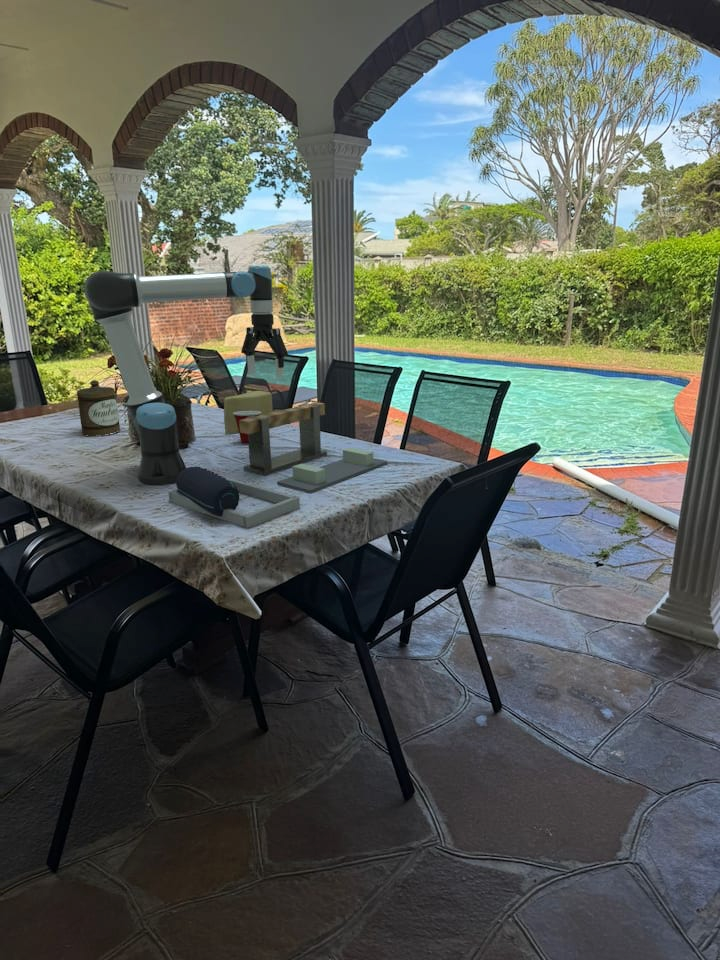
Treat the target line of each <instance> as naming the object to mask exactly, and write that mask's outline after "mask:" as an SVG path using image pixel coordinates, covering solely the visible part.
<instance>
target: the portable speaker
mask: <svg viewBox="0 0 720 960" xmlns="http://www.w3.org/2000/svg"><path fill="white" fill-rule="evenodd" d="M222 476H223V475H219V474H217V473H215V472H214V471H211V470H210V469H207V468H205V467H201V466H195V465H194V466H188V467H186V469H184V470H182V471H181V472H180V473H179V475H178V477H177V480H176V482H175V485H176V489H178V491H179V493H181V494H182V495H184V496H186V497H187V498H189V499H190V500H191V501H192V502H194V503H195V504H197V505H198V506H200V507H201V508H203V509H204V510H206V511H208V512H210V513H211V514H213V515H216V516H223V512H224V510H225V509H232V510H236V509H237V508H238V506H239V502H240V493H239V490H238V489H237V487H236V486H235V485H234V483H232V482H230V481H229V480H226V478H224V477H225V476H224V477H223V478H222Z"/></svg>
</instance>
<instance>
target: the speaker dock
mask: <svg viewBox="0 0 720 960" xmlns="http://www.w3.org/2000/svg"><path fill="white" fill-rule="evenodd" d="M221 476H222V478H223V477H224V478H226V480H229V481H230V482H232V483H234V485H235V486H236V487H237V489H238V490H239V494H243V495H247V496H250V497H253V498H257V499H260V500H264V501H268V502H270V503H274V504H271V505H269V506H266V507H264V508H261V509H259V510H258V509H257V510H255V511H253V512H249V513H245V512H241V511H238V510H236V509H235V510H232V509H225V510H224V512H223V516H216V515H213V514H211V513H210V512H208V511H206V510H204V509H203V508H201V507H200V506H198V505H197V504H195V503H194V502H192V501H191V500H190V499H189V498H187V497H186V496H184V495H182V494H181V493H179V491H178V489H177V488H176V489H171V490H169V491H167V496H168V502H169V503H172V504H175V505H179V506H182V507H184V508H187V509H190V510H193V511H196V512H199V513H202V514H204V515H208V516H211V517H213V518H217V519H219V520H223V521H226V522H228V523H232V524H235V525H237V526H241V527H243V528H246V529H250V528H252V527H254V526H257V525H260V524H262V523H265V522H267V521H270V520H272V519H275V518H277V517H280V516H282V515H284V514H287V513H289V512H292V511H295V510H297V509H299V508H301V505H300V504H301V503H300V497H299V496H295V495H292V494H289V493H285V492H282V491H281V492H280V491H277V490H274V489H270V488H266V487H263V486H260V485H257V484H256V485H255V484H252V483H248V482H245V481H242V480H241V481H240V480H237V479H234V478H231V477H226V476H224V475H221Z"/></svg>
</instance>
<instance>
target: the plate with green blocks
mask: <svg viewBox="0 0 720 960" xmlns="http://www.w3.org/2000/svg"><path fill="white" fill-rule="evenodd" d="M386 465H388V461H387V460H383V459H378V458H374V451H370V450H366V449H359V448H354V447H348V448H345V449H342V459H339V460H335V461H334V462H330V463H327V464H323V465H322V466H314V465H309V464H305V463H302V464H299V465H296V466H293V467H292V475H291V476H289V477H287V478H283V479H280V480H278V481H277V482H276V485H278V486H281V487H285V488H289V489H292V490H295V491H300V492H303V493H307V494H312V493H315V492H318V491H320V490H323V489H326V488H328V487H331V486H333V485H336V484H338V483H341V482H344V481H346V480H349V479H352V478H355V477H357V476H359V475H362V474H364V473H368V472H370V471H372V470H375V469H378V468H380V467H381V468H382V466H386Z"/></svg>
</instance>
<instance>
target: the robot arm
mask: <svg viewBox="0 0 720 960" xmlns="http://www.w3.org/2000/svg"><path fill="white" fill-rule="evenodd" d="M272 284H273V279H272V271H271V267H270V266H269V265H249V266H248V269H247V271H244V270H239V271H220V272H219V271H218V272H217V271H216V272H209V273H208V272H207V273H206V272H205V273H202V272H201V273H186V274H163V275H159V274H158V275H144V276H143V275H142V276H141V275H137V274H136V273H135V272H131V273H130V272H129V273H126V272H125V273H123V272H116V271H115V272H114V271H109V270H108V271H107V270H100V271H99V270H97V271H95V272H93V273H91V274H89V276H88V277H87V278H86V280H85V282H84V284H83V285H84V286H83V293H84V295H85V299H86V300H87V303H88V305H89V307H90V309H91V312H92V315H93V318H94V320H95V322H97V323H99V324H100V325H102V327H103V330H104V333H105V335H106V338H107V340H108V343H109V346H110V348H111V352H112V354H113V356H114V359H115V362H116V365H117V368H118V370H119V373H120V375H121V378H122V381H123V383H124V387H125V389H126V391H127V394H128V400H127V402H126V405H127V408H128V410H129V413H130V416H131V421H132V424H133V426H134V428H135V429H136V431H137V432H138V440H139V444H140V445H139V447H140V453H141V458H140V461H139V468H138V472H137V475H138V481H139V482H140V483H141V484H145V485H168V484H172V483H173V484H174V483H176V480H177V477H178V475H179V473H180V472H181V471H182V470H184V469H186V468H187V466H186V465H185V462H184V460H183V458H182V455H181V453H180V445H179V435H178V426H177V414H176V410H175V407H174V406H172V405H171V404H169V403H166V402H165V399H164V395H163V394H162V392H161V391H160V390H157V389H156V387H155V384H154V382H153V378H152V376H151V373H150V371H149V367H148V365H147V362H146V359H145V356H144V353H143V351H142V347H141V345H140V342H139V339H138V336H137V334H136V331H135V329H134V325H133V322H132V319H131V316H132V314H133V308H138V307H141V306H142V304H145V303H149V304H151V303H161V302H163V303H165V302H178V301H179V302H180V301H194V300H208V299H222V298H224V299H225V298H246V297H249V299H250V300H249V301H250V303H249V304H250V313H252V314H251V316H250V317H251V320H250V321H251V322H250V323H251V325H252V326H249V327H246V328H245V329H246V330H245V331H246V333H245V337H244V341H243V345H242V347H241V350H240V351H241V354H244V355H245V359H246V365H247V374H248V375H250V376H251V375H255V374H256V366H255V364H256V363H255V355H254V352H255V350H256V348H257V346H258V345H259V343H260V342H266V343H267V344H268V345H269V348H270V349H271V350H272V352H273V354H274V355H275V356H276V357H275V361H274V362H275V377H276V379H277V378H283V377H284V367H285V365H284V364H285V363H284V360H285V359H284V358H285V357H289V352H288V350H287V347H286V345H285V343H284V340H283V338H282V335H281V329H280V328H279V327H278V328H273V325H274V323H275V320H274V314H273V312H274V306H273V305H274V304H273V285H272Z"/></svg>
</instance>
